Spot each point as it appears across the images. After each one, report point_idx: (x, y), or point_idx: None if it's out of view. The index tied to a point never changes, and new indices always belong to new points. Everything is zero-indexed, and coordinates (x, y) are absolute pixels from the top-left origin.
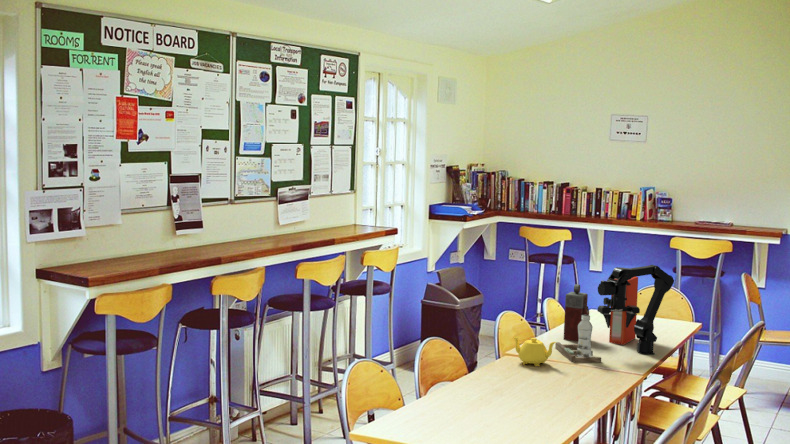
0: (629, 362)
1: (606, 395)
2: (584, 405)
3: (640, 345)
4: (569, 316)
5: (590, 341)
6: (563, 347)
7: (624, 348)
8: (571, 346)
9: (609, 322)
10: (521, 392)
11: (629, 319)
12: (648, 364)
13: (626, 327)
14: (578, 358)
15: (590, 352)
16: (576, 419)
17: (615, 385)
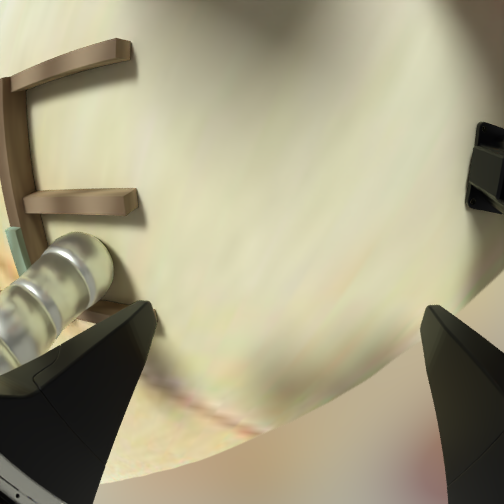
0: (297, 339)
1: (139, 467)
2: (108, 467)
3: (493, 198)
4: None
5: (63, 326)
6: (5, 185)
7: (432, 42)
8: (56, 76)
9: (119, 401)
10: None
11: (446, 458)
12: (369, 367)
13: (422, 320)
14: None
15: (97, 300)
16: (103, 476)
17: (162, 455)
